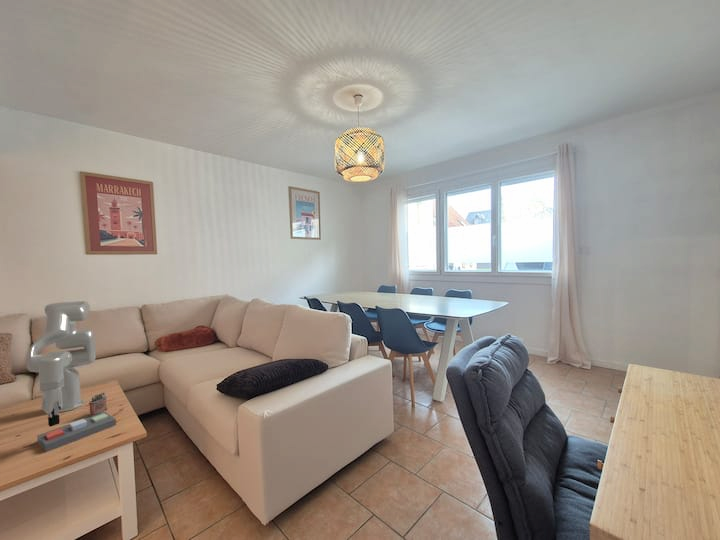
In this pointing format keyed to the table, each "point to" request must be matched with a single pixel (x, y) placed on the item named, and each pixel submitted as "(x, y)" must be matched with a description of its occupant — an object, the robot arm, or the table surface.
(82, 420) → the bluegrey button
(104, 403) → the lighter
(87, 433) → the button panel
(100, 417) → the sage button
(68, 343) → the robot arm
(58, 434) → the red button
